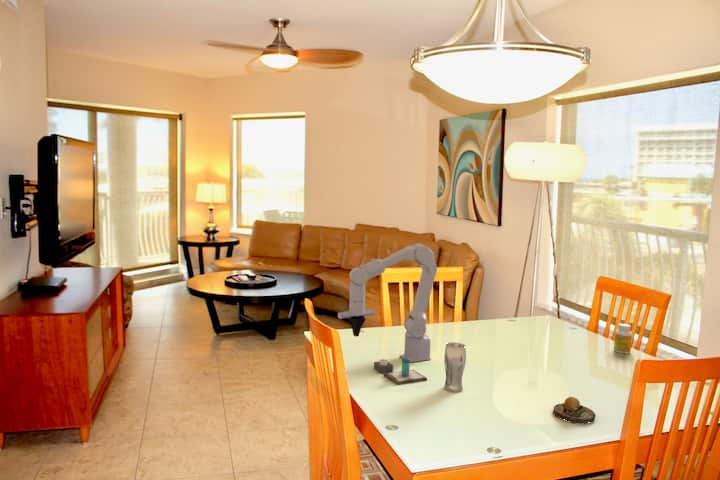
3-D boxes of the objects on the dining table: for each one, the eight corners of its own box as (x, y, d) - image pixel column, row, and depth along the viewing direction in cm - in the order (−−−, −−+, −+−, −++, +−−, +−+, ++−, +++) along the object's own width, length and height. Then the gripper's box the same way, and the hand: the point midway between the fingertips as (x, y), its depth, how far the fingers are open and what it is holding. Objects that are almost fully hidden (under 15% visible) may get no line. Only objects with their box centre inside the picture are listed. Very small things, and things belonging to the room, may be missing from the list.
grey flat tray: (413, 371, 209) (413, 368, 209) (426, 380, 201) (427, 376, 201) (383, 376, 203) (383, 372, 203) (396, 384, 195) (396, 380, 195)
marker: (406, 373, 204) (407, 356, 203) (410, 375, 202) (411, 359, 201) (399, 374, 202) (400, 357, 202) (404, 376, 200) (405, 359, 200)
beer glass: (451, 394, 189) (453, 349, 187) (438, 386, 195) (440, 343, 193) (468, 391, 192) (470, 347, 190) (455, 384, 198) (457, 341, 196)
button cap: (384, 367, 211) (385, 358, 210) (388, 369, 208) (389, 361, 208) (378, 368, 210) (378, 359, 209) (381, 370, 207) (382, 362, 207)
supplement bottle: (614, 352, 241) (616, 325, 240) (613, 348, 247) (616, 322, 246) (630, 354, 239) (633, 327, 238) (629, 350, 245) (632, 324, 243)
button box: (386, 367, 212) (386, 360, 212) (392, 371, 208) (393, 364, 208) (373, 369, 210) (374, 362, 210) (380, 373, 206) (380, 366, 205)
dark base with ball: (603, 423, 171) (605, 399, 170) (566, 426, 169) (568, 401, 168) (579, 407, 183) (581, 384, 182) (545, 409, 180) (547, 386, 179)
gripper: (369, 296, 223) (368, 331, 225) (335, 299, 217) (333, 334, 219) (378, 300, 217) (376, 336, 219) (342, 303, 211) (341, 339, 212)
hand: (355, 335), depth 218 cm, fingers closed
